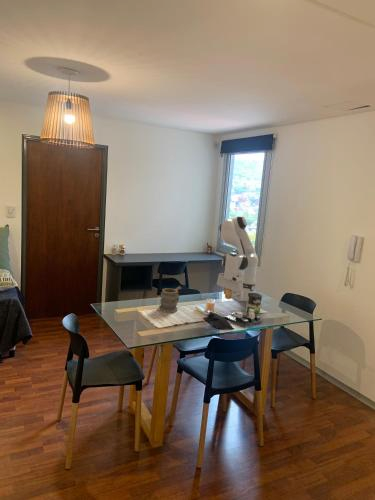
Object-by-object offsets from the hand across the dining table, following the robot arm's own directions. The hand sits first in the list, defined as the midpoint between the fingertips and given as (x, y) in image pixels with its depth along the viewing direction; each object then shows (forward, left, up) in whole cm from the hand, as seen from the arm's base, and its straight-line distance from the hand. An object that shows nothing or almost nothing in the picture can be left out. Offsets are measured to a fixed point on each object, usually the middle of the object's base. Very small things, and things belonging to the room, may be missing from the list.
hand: (228, 295), depth 253 cm
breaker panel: (+11, +6, -16) cm, 20 cm away
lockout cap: (0, 0, -2) cm, 2 cm away
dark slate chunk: (+6, -14, -17) cm, 22 cm away
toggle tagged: (+18, +6, -12) cm, 22 cm away
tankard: (-31, -23, -16) cm, 42 cm away
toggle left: (+12, -1, -12) cm, 17 cm away
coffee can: (+5, +25, -16) cm, 30 cm away
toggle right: (+12, +12, -12) cm, 21 cm away
